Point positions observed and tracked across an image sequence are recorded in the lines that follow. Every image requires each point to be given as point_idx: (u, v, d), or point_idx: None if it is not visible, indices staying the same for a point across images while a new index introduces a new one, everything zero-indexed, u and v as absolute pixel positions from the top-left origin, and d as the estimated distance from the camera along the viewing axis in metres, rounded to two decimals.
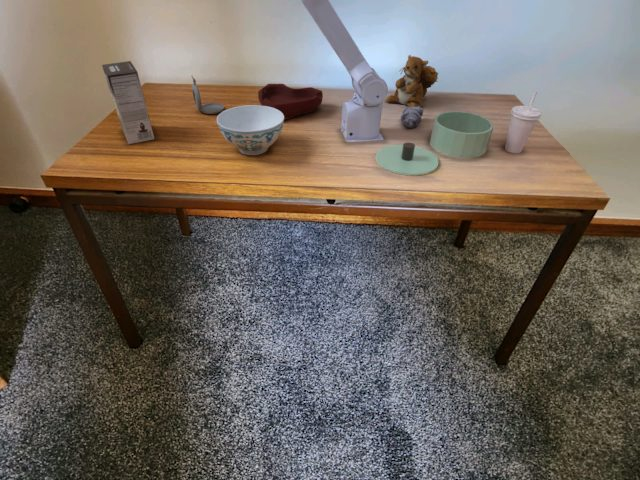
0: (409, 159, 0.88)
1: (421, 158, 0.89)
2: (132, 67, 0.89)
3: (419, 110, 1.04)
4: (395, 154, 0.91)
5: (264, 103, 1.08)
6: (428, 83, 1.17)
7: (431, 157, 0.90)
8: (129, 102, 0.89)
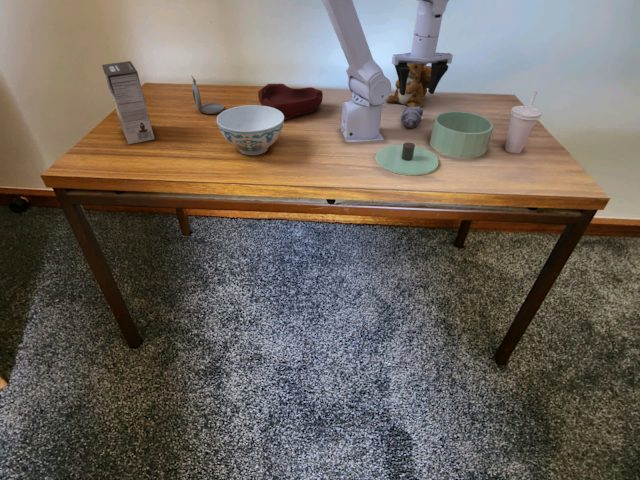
0: (409, 159, 0.88)
1: (421, 158, 0.89)
2: (132, 67, 0.89)
3: (419, 110, 1.04)
4: (395, 154, 0.91)
5: (264, 103, 1.08)
6: (428, 83, 1.17)
7: (431, 157, 0.90)
8: (129, 102, 0.89)
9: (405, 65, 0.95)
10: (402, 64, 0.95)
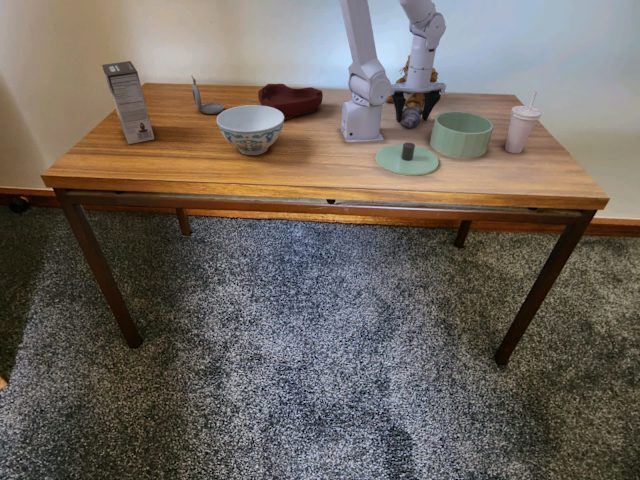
0: (409, 159, 0.88)
1: (421, 158, 0.89)
2: (132, 67, 0.89)
3: (418, 110, 1.04)
4: (395, 154, 0.91)
5: (264, 103, 1.08)
6: None
7: (431, 157, 0.90)
8: (129, 102, 0.89)
9: (401, 95, 1.00)
10: (398, 94, 1.00)
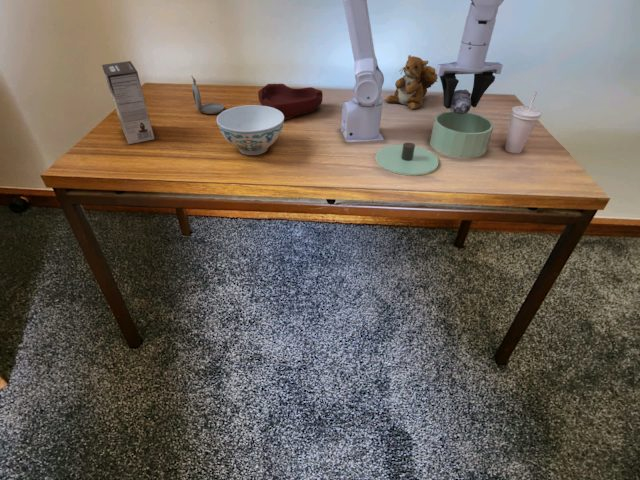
0: (409, 159, 0.88)
1: (421, 158, 0.89)
2: (132, 67, 0.89)
3: (468, 93, 0.92)
4: (395, 154, 0.91)
5: (264, 103, 1.08)
6: (428, 83, 1.17)
7: (431, 157, 0.90)
8: (129, 102, 0.89)
9: (453, 76, 0.86)
10: (450, 75, 0.86)
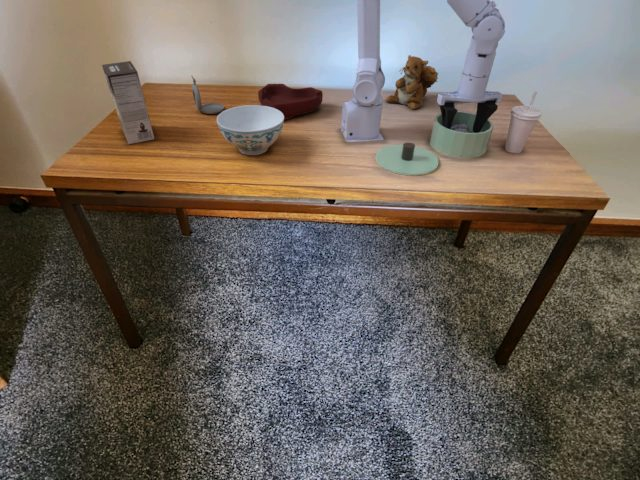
0: (409, 159, 0.88)
1: (421, 158, 0.89)
2: (132, 67, 0.89)
3: (466, 128, 0.95)
4: (395, 154, 0.91)
5: (264, 103, 1.08)
6: (428, 83, 1.17)
7: (431, 157, 0.90)
8: (129, 102, 0.89)
9: (452, 105, 0.89)
10: (448, 104, 0.88)
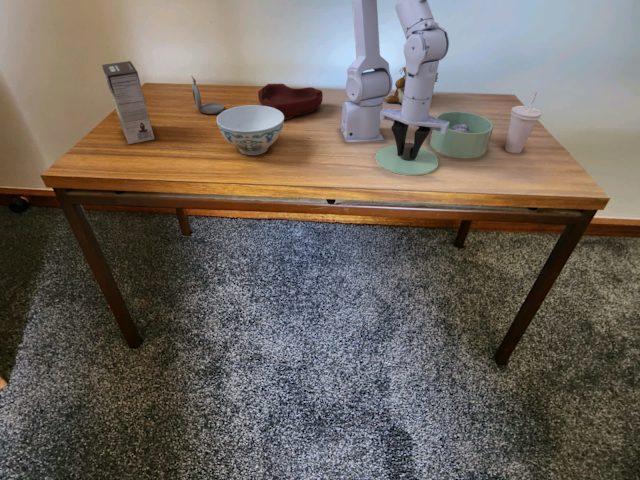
0: (409, 159, 0.88)
1: (421, 158, 0.89)
2: (132, 67, 0.89)
3: (466, 128, 0.95)
4: (395, 154, 0.91)
5: (264, 103, 1.08)
6: None
7: (431, 157, 0.90)
8: (129, 102, 0.89)
9: (401, 125, 0.85)
10: (398, 123, 0.85)
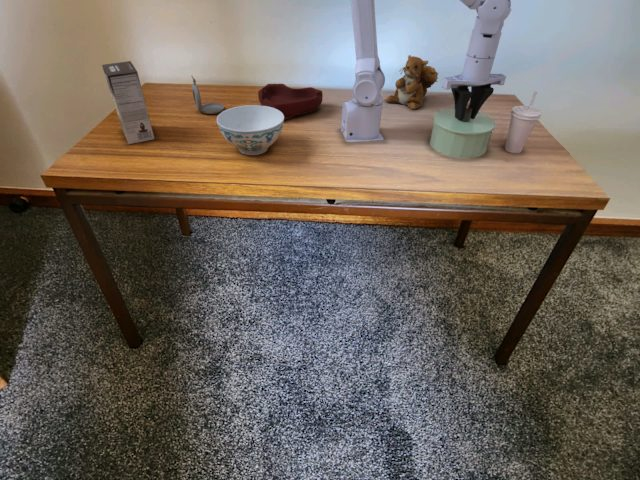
0: (470, 119, 0.92)
1: None
2: (132, 67, 0.89)
3: None
4: (452, 120, 0.92)
5: (264, 103, 1.08)
6: (428, 83, 1.17)
7: None
8: (129, 102, 0.89)
9: (466, 88, 0.86)
10: (463, 87, 0.86)
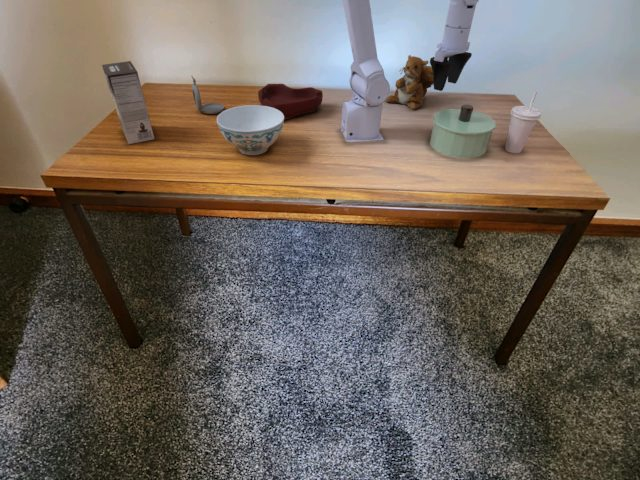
0: (470, 119, 0.92)
1: (471, 116, 0.94)
2: (132, 67, 0.89)
3: None
4: (452, 120, 0.92)
5: (264, 103, 1.08)
6: (428, 83, 1.17)
7: (473, 112, 0.96)
8: (129, 102, 0.89)
9: (447, 60, 0.92)
10: (445, 59, 0.92)
